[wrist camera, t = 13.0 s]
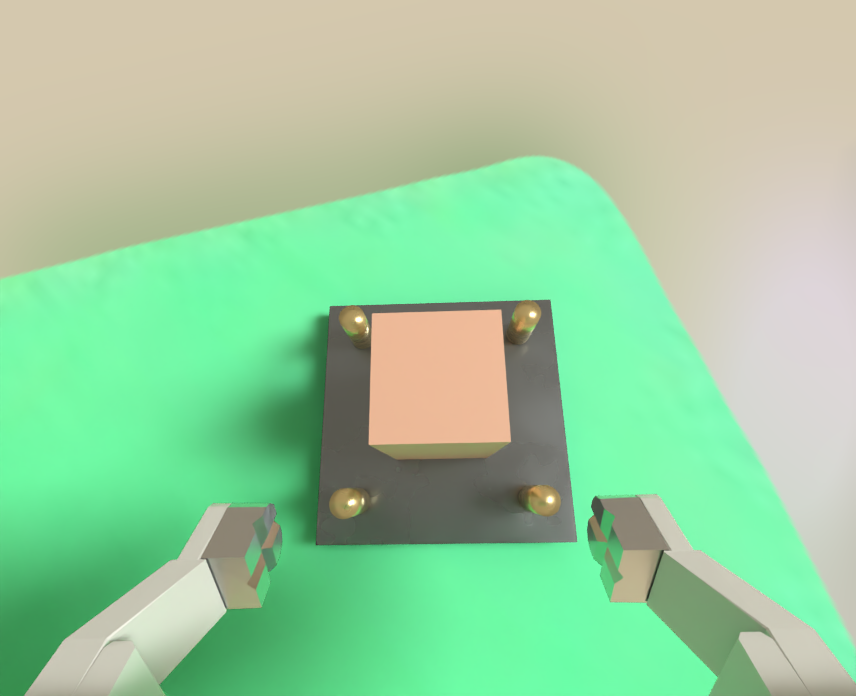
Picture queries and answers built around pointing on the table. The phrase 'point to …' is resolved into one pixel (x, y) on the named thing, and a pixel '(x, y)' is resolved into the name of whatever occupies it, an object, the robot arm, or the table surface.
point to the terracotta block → (438, 385)
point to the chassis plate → (446, 478)
